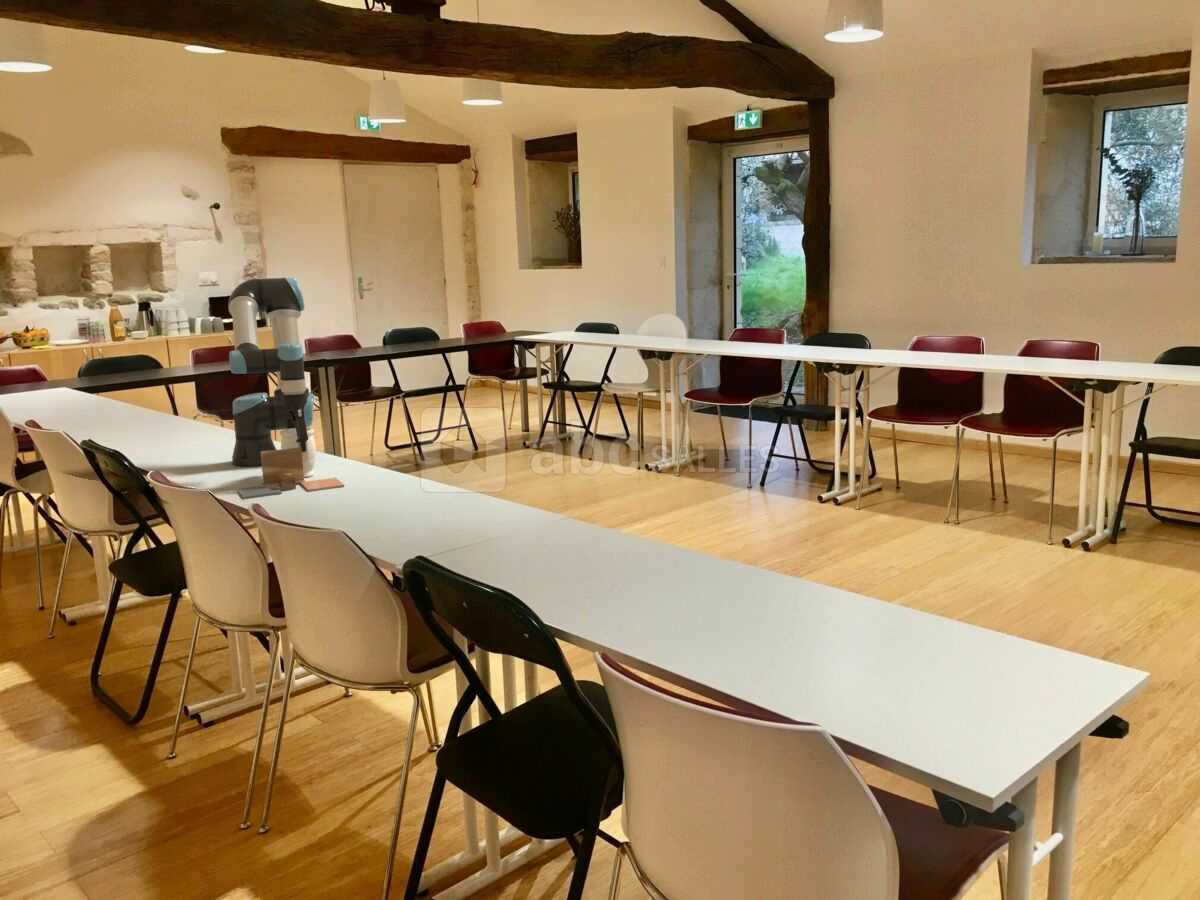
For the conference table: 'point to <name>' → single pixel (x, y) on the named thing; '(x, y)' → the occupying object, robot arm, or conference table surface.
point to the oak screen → (281, 465)
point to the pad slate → (258, 491)
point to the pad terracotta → (322, 484)
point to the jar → (290, 442)
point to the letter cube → (287, 481)
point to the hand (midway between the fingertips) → (299, 458)
